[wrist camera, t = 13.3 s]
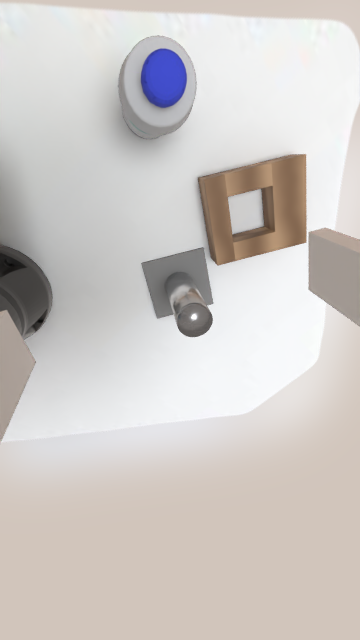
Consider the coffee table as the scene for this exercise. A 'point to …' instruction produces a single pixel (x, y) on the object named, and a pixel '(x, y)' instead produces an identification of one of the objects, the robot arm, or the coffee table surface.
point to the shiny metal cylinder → (188, 305)
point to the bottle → (156, 87)
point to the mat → (166, 266)
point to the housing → (278, 208)
